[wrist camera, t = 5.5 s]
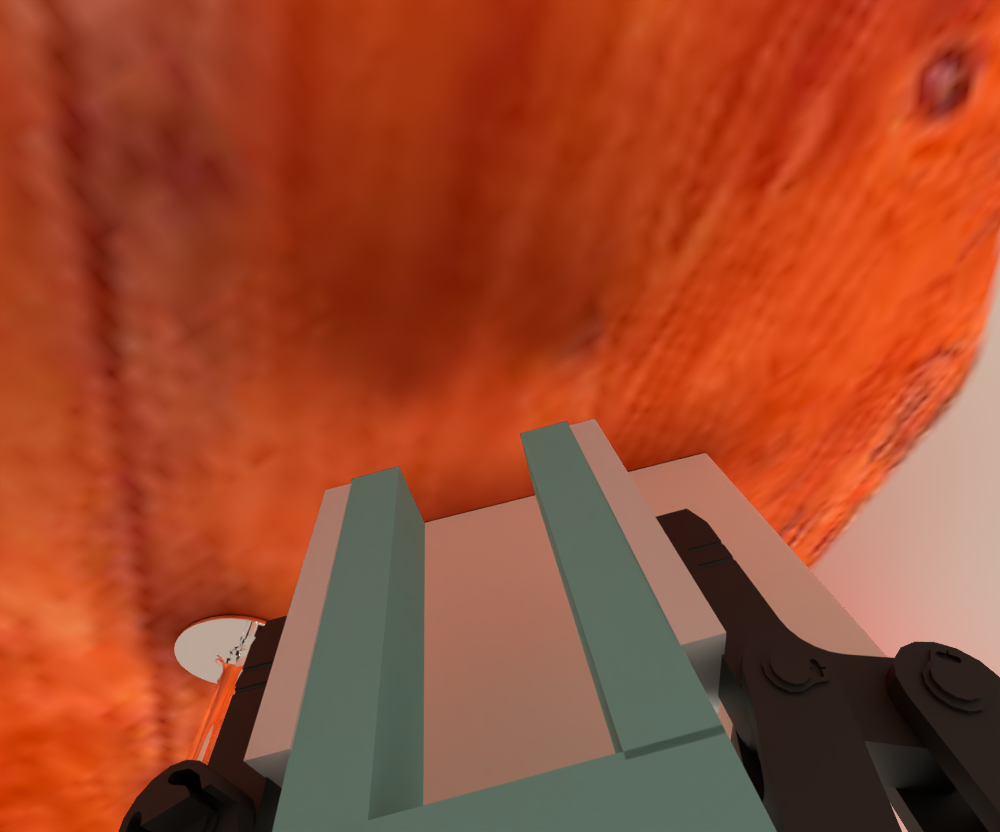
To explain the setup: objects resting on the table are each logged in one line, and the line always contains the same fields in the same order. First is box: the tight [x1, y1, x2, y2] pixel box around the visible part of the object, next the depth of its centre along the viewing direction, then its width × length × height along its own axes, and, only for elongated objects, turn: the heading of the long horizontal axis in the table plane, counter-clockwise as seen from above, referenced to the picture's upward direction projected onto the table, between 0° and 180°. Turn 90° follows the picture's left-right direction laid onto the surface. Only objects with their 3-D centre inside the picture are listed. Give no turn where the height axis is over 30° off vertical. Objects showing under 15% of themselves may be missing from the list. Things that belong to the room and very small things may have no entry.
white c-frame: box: [423, 453, 887, 805], centre depth 21 cm, size 16×18×12 cm
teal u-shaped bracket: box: [272, 421, 777, 832], centre depth 9 cm, size 2×6×9 cm, turn 103°
